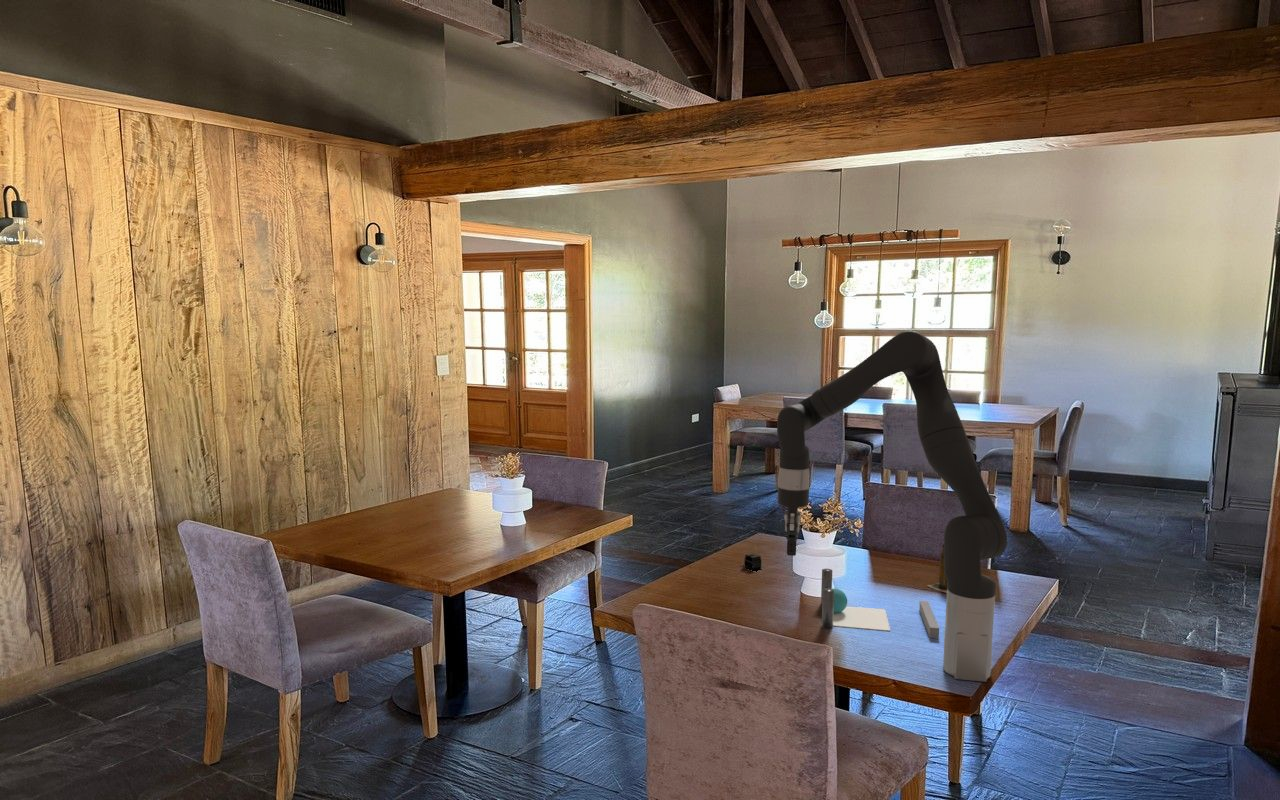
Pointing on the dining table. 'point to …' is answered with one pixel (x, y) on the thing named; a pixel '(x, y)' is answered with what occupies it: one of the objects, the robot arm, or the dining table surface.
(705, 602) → the dining table surface
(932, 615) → the wall
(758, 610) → the dining table surface
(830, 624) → the post front
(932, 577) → the dining table surface
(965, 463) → the robot arm
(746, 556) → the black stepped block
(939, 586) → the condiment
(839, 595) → the ball
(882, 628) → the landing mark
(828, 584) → the post back
